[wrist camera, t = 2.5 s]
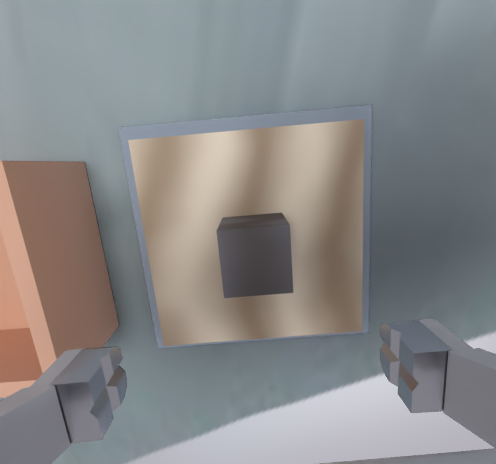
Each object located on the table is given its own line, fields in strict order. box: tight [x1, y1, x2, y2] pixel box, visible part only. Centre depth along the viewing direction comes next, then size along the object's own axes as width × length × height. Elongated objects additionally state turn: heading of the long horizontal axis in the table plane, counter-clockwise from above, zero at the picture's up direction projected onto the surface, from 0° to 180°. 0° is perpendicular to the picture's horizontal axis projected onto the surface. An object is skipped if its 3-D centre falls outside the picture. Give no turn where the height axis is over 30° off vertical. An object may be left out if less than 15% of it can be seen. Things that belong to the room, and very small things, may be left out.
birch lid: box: [128, 119, 364, 346], centre depth 19 cm, size 15×15×5 cm
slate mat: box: [118, 104, 372, 348], centre depth 21 cm, size 17×17×1 cm
